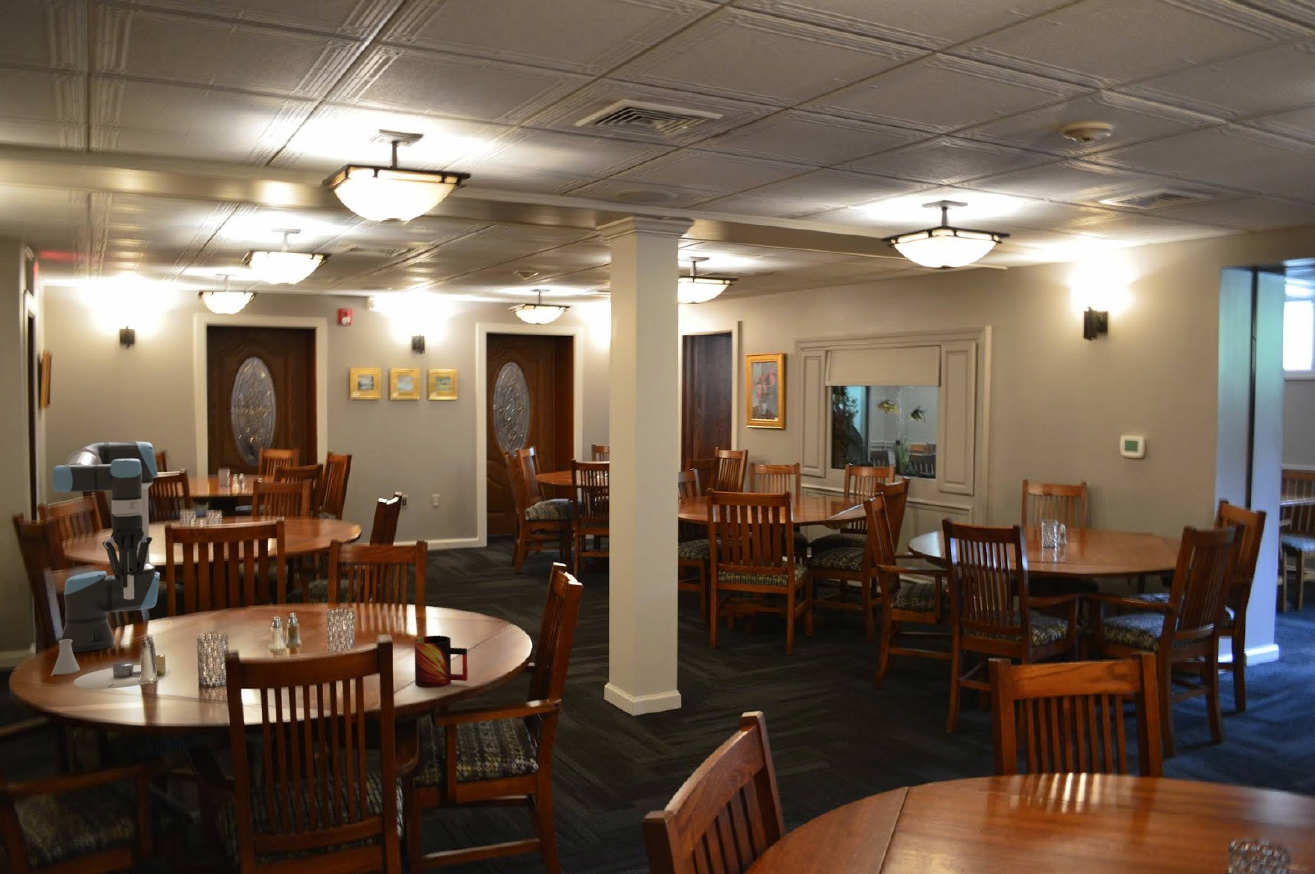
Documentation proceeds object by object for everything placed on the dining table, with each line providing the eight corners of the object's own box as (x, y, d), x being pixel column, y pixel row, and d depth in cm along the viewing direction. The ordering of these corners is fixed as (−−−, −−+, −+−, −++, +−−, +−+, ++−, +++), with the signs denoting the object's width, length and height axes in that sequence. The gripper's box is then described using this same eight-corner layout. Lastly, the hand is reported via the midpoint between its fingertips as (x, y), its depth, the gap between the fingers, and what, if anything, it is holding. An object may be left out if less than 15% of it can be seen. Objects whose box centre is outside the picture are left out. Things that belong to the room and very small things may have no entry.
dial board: (93, 671, 288) (93, 666, 288) (182, 667, 292) (182, 662, 292) (58, 695, 264) (58, 690, 264) (155, 690, 268) (155, 685, 268)
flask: (67, 679, 280) (66, 644, 279) (45, 678, 281) (44, 642, 281) (86, 672, 287) (86, 638, 286) (64, 671, 288) (64, 636, 288)
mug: (467, 685, 273) (467, 641, 272) (415, 689, 269) (415, 644, 269) (465, 675, 282) (464, 633, 282) (414, 679, 278) (414, 636, 278)
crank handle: (109, 677, 275) (109, 659, 275) (117, 673, 280) (117, 654, 280) (161, 676, 277) (161, 657, 277) (168, 671, 282) (168, 653, 282)
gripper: (110, 517, 271) (112, 604, 272) (157, 513, 282) (159, 596, 283) (96, 515, 275) (98, 600, 276) (143, 511, 286) (145, 592, 287)
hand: (128, 598), depth 280 cm, fingers closed
